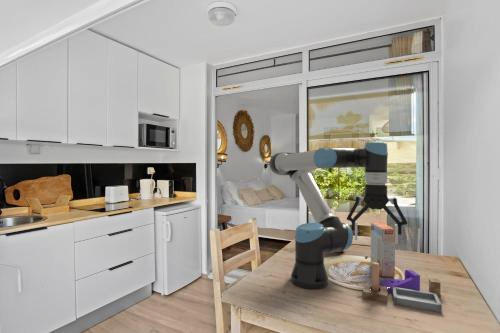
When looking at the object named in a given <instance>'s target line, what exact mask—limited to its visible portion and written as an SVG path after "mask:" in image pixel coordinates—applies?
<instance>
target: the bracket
mask: <svg viewBox="0 0 500 333" xmlns="http://www.w3.org/2000/svg"><path fill="white" fill-rule="evenodd" d="M379 285H380V286H386V287H390V288H388V289H387V294H388V293H390V294H391V293H392V290H393V287H398V288H404V289H410V290H417V291H421V275H420V274H419V273H417V272H416V271H414V270H413V269H406V270H405V271H404V279H384V280H381V281H379ZM392 294H393V293H392Z"/></svg>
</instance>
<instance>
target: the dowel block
mask: <svg viewBox="0 0 500 333" xmlns="http://www.w3.org/2000/svg"><path fill="white" fill-rule="evenodd" d="M370 289H371V283H367V282H364V283H363V288H362V290H363V291H362V294H363V296H362V298H363V299H364V300H368V301H369V300H370V301H376V302H382V303H385V304H386V303H387V304H388V303H389V302H388V301H389V300H388V299H389V298H388V292H387V287H386V286H381V285H380V284H379V292H378V291H372V290H370Z"/></svg>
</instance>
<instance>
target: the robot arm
mask: <svg viewBox="0 0 500 333" xmlns="http://www.w3.org/2000/svg"><path fill="white" fill-rule="evenodd" d="M388 156H389V152H388V144H387V143H386V142H385V141H368V142H365V145H364V147H362V148H357V147H356V148H348V147H346V148H345V147H344V148H340V147H337V148H336V147H320V148H317V149H315V150H314V149H313V150H308V151H303V152H300V151H299V152H285V151H284V152H277V153H275V154H273V155H272V156H271V157H270V159H269V161H268V162H269V163H268V164H269V169H270V170H271V171H272V172H273V173H274V174H275V175H278V176H289V178H290V179H291V181H292V182H293V183H295V184H296V185H297V187H298V189H299V192H300V193H301V196H302V197H303V200H304V201H305V204H306V205H307V207H308V209H309V212H310V214H311V215H312V217H313V220H314V222H311V223H310V222H307V223H302V224H300V225H298V226H297V227H296V229H295V235H294V240H295V244H294V245H295V246H294V247H295V250H294V252H295V254H294V255H295V256H294V258H295V261H294V265H293V267H292V271H291V274H290V281H291V283H292V284H294V285H295V286H296V287H298V288H302V289H309V290H319V289H323V288H326V287H327V286H328V285H329V276H328V273H327V269H326V266H325V255H327V254H333V253H341V252H340V251H343V250H344V251H346V250H348V249H349V248H350V247H351V246H352V244H353V240H354V241H358V221H357V220H358V219H359V218H360V217H361V216H362V215H363V214H364V213H365V212H366V211H368V209H371V210H379V211H380V210H382V209H383V210H384V211H385V212H386V213H387V214H388V216H389V217H390V218H391V219H392V220H393V221H394V223H395V224H394V229H395V245H399V236H401V235H402V227H403V226H405V225H407V224H408V221H407V219H406V217H405V216H404V213H403V212H402V210H401V208H400V207H399V204H398V199H397V198H396V197H392V198H391V197H388V185H387V183H388V158H389V157H388ZM333 168H335V169H336V168H338V169H339V168H346V169H347V168H349V169H350V168H363V169H364V182H365V185H364V196H360V195H357V196H355V202H354V204H353V206H352V208H351V209H350V210H349V211H350V212H349V213H348V215H347V217H346V221H350V222H351V226H350V225H349V224H347V223H346V222H342V221H341V220H340V217H339V216H338V215H335V214H333V212H332V210H331V209H330V207H329V204H328V203H327V201H326V199H325V197H324V195H323V193H322V191H321V189H320V188H319V186H318V185H317V182H316V181H315V179H314V177H313V175H312V174H313V170H314V169H315V170H316V169H333ZM362 201H364V203H365V205H364V206H363V207H362V208H360V210H359V211H358V212H357V213H356V214H355V215H354V216H353V214H354V213H355V210H357V207H358V205H359V204H360V203H361V202H362ZM389 202H390V203H391V205H393V206H394V208H395V210H396V212H397V214H398V215H399V217H400V219H399V218H398V217H397V216H396V215H395V214H394V213H393V211H391V210H390V209H389V207H388V206H387V205H388V203H389ZM352 216H353V217H352ZM353 232H354V234H353ZM344 251H343V252H344Z"/></svg>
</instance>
